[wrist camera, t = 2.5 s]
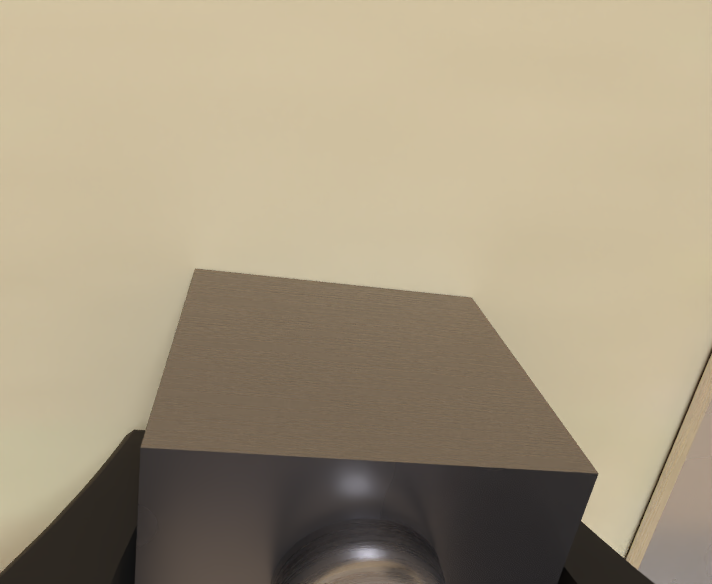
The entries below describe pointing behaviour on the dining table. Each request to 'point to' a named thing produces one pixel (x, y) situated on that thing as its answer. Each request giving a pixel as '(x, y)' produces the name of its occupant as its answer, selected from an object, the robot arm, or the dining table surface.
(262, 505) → the block
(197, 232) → the dining table surface
